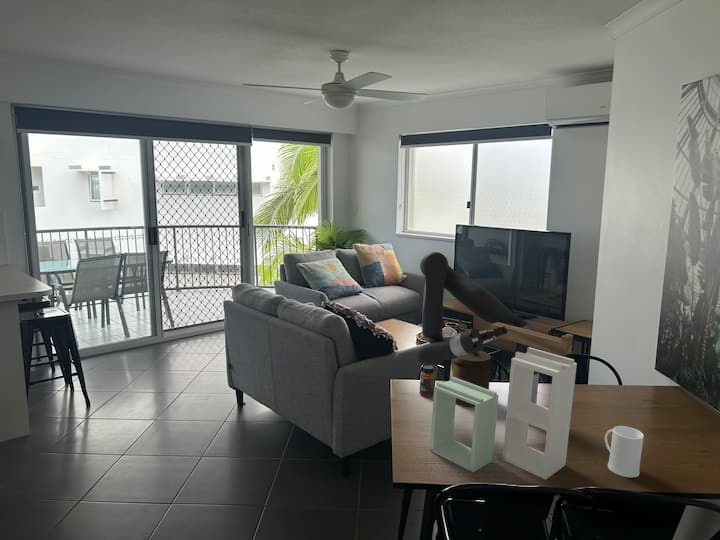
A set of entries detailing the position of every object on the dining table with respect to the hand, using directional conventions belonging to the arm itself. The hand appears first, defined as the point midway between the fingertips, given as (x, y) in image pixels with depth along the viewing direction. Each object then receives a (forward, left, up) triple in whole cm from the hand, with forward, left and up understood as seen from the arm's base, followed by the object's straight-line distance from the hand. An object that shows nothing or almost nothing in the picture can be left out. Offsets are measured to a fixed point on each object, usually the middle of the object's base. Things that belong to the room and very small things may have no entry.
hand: (509, 328), depth 158 cm
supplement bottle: (-14, -41, -39) cm, 58 cm away
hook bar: (0, +7, -3) cm, 7 cm away
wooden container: (-23, -28, -39) cm, 53 cm away
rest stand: (+14, -5, -39) cm, 42 cm away
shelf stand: (0, +12, -39) cm, 41 cm away
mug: (-18, +30, -39) cm, 53 cm away
